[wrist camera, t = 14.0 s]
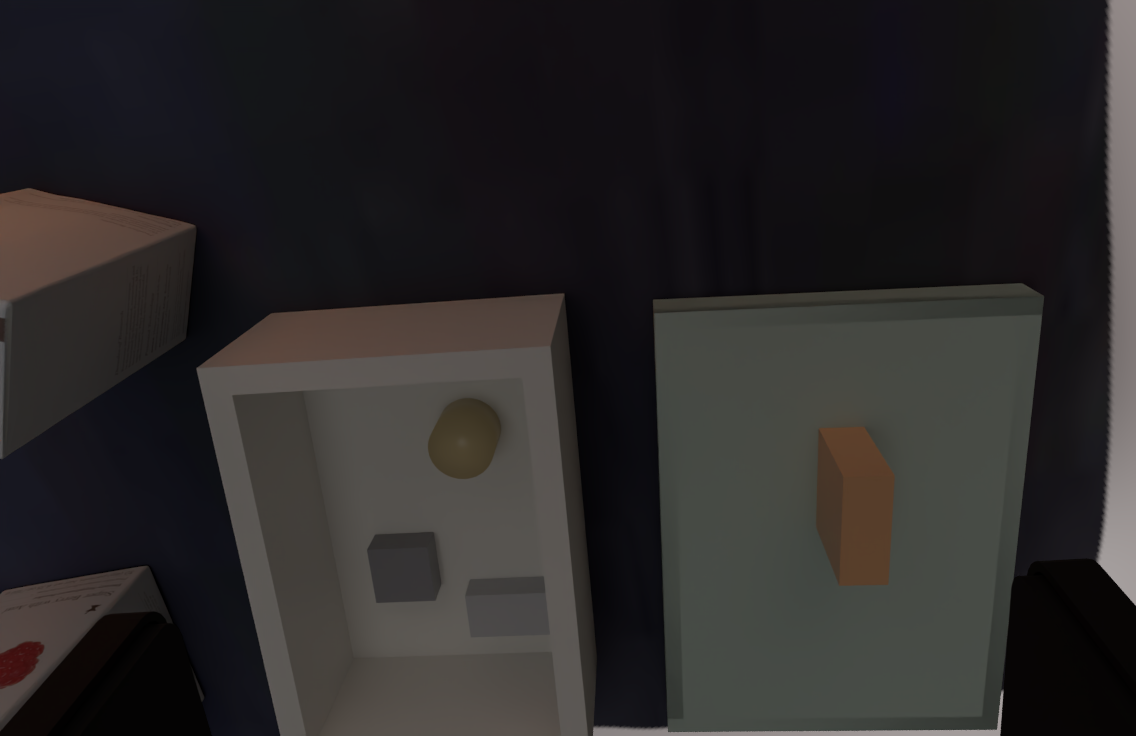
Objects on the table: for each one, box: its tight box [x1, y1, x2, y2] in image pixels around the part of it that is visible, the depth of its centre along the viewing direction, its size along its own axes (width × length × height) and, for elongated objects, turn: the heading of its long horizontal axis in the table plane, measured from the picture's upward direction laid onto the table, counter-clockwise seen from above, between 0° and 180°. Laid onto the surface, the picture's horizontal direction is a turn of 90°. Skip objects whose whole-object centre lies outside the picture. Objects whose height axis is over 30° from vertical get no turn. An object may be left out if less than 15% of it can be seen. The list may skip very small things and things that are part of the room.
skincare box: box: [0, 188, 196, 459], centre depth 36 cm, size 8×6×15 cm
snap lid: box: [653, 283, 1044, 732], centre depth 42 cm, size 22×16×7 cm
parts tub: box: [196, 293, 597, 736], centre depth 42 cm, size 20×14×8 cm
